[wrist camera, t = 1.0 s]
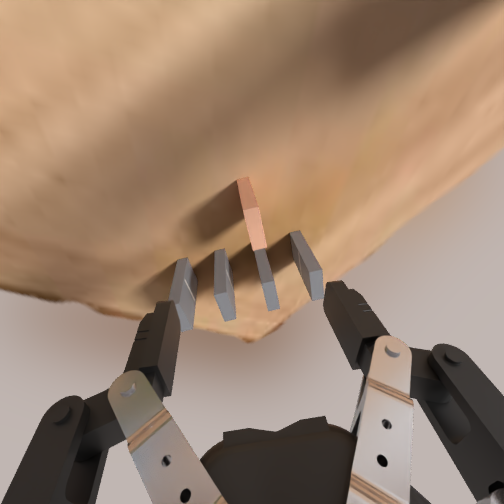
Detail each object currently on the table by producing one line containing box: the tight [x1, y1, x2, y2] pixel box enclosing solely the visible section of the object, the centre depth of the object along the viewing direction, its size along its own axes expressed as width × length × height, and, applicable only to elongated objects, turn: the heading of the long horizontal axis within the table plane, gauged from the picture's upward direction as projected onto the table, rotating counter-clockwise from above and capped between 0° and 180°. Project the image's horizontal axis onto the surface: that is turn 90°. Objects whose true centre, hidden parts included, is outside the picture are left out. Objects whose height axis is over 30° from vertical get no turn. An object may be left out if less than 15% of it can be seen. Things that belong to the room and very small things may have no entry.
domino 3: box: [237, 177, 267, 251], centre depth 30 cm, size 2×5×10 cm, turn 12°
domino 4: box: [254, 248, 280, 311], centre depth 36 cm, size 2×5×10 cm, turn 11°
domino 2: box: [214, 249, 236, 321], centre depth 36 cm, size 2×5×10 cm, turn 12°
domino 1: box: [168, 258, 198, 332], centre depth 36 cm, size 2×5×10 cm, turn 12°
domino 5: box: [290, 230, 324, 301], centre depth 36 cm, size 2×5×10 cm, turn 12°
